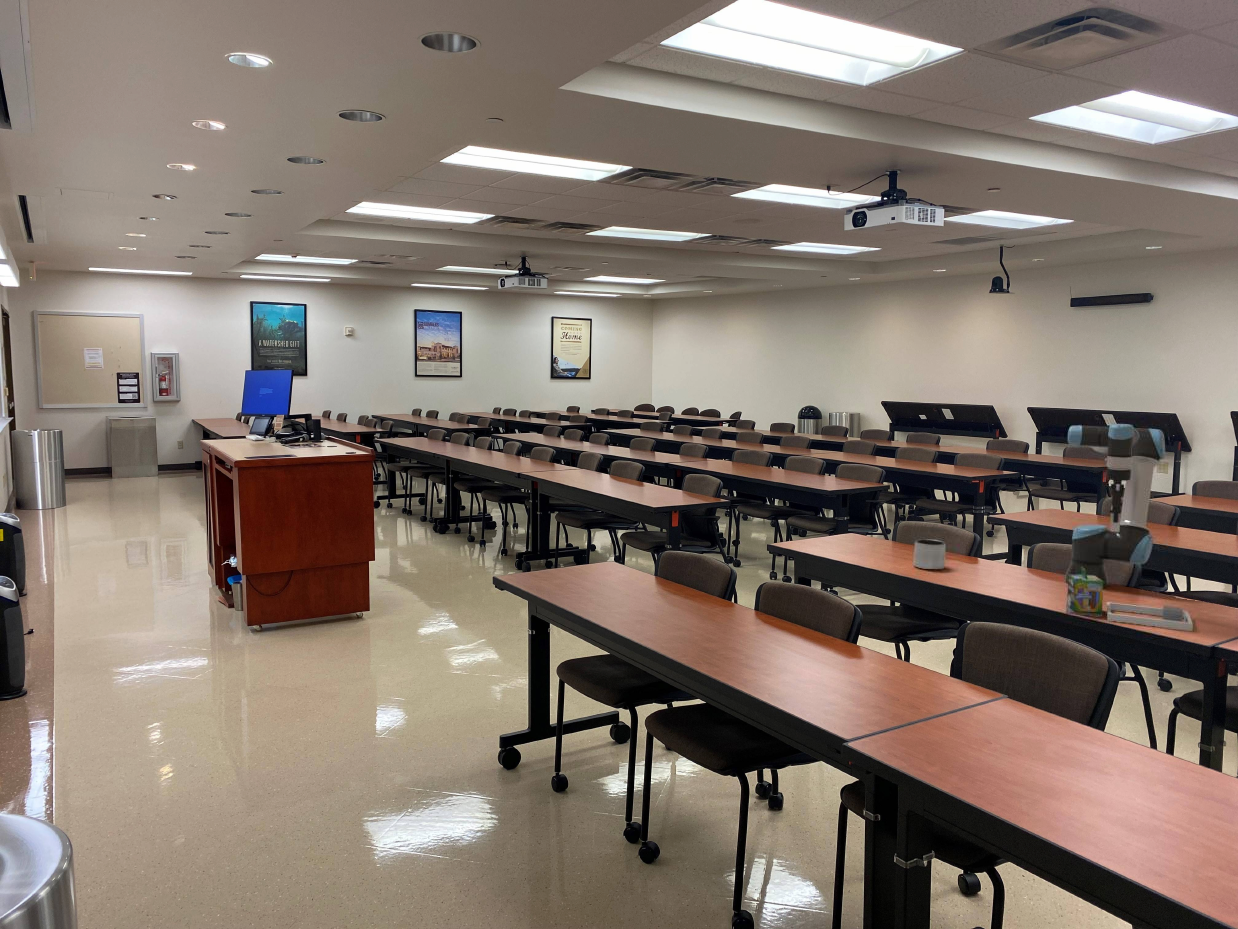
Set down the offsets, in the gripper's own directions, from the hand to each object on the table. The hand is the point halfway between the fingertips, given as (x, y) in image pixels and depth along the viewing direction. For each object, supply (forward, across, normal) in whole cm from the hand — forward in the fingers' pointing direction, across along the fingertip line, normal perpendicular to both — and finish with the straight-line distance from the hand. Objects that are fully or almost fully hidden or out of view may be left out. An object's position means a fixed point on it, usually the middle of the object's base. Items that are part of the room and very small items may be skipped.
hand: (1114, 527), depth 299 cm
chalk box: (+28, +11, -8) cm, 31 cm away
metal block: (+29, +11, +18) cm, 36 cm away
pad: (+29, +11, -8) cm, 32 cm away
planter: (+30, -29, -67) cm, 79 cm away
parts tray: (+29, +11, +11) cm, 33 cm away
